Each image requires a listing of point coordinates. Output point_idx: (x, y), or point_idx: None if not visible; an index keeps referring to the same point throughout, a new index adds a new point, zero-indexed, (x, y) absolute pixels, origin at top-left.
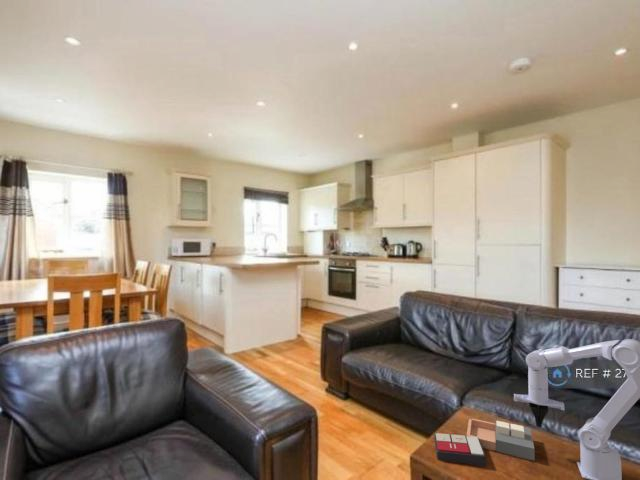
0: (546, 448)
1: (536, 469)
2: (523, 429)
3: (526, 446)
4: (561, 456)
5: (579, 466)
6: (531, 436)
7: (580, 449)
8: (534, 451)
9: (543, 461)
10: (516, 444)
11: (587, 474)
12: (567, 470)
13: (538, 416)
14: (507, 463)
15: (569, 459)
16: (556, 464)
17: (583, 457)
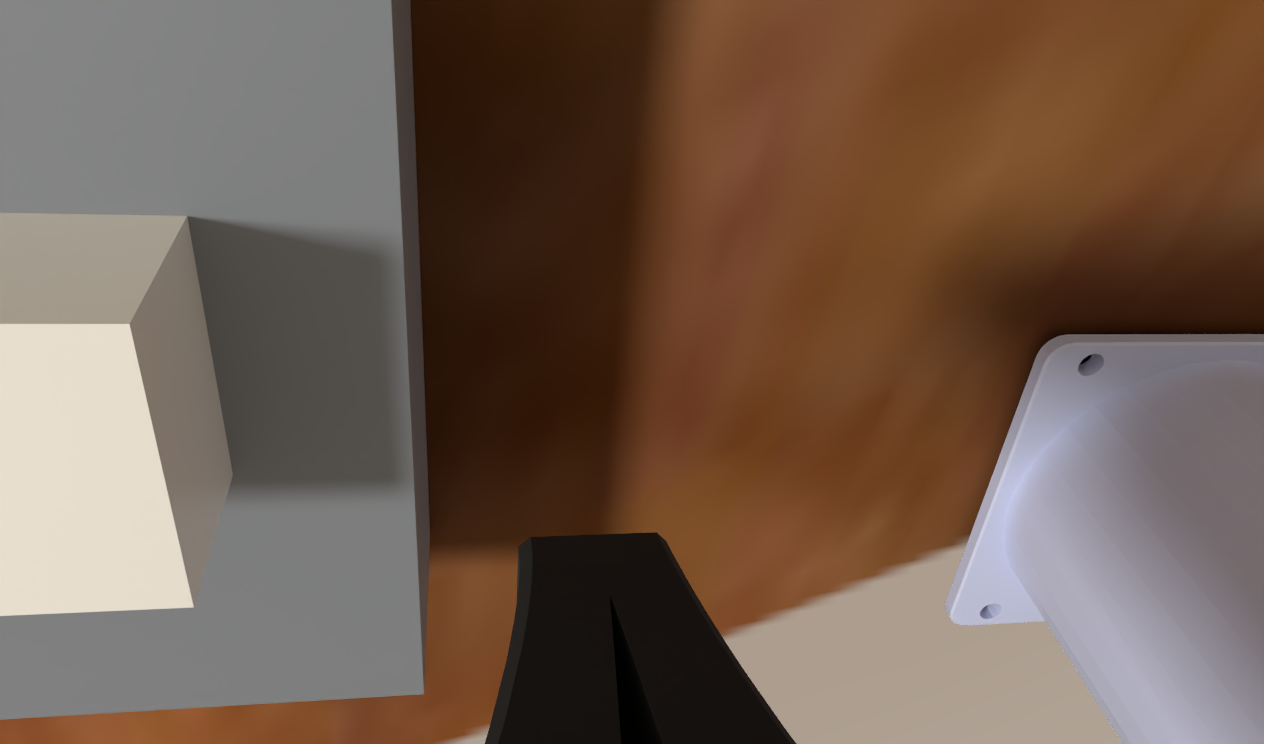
0: (699, 50)
1: (436, 678)
2: (161, 507)
3: (287, 689)
4: (885, 227)
5: (1022, 456)
6: (393, 294)
7: (1178, 733)
8: (424, 652)
9: (555, 486)
10: (106, 712)
11: (1025, 591)
12: (824, 540)
13: (659, 741)
14: (71, 725)
15: (980, 263)
16: (723, 477)
17: (1115, 729)
